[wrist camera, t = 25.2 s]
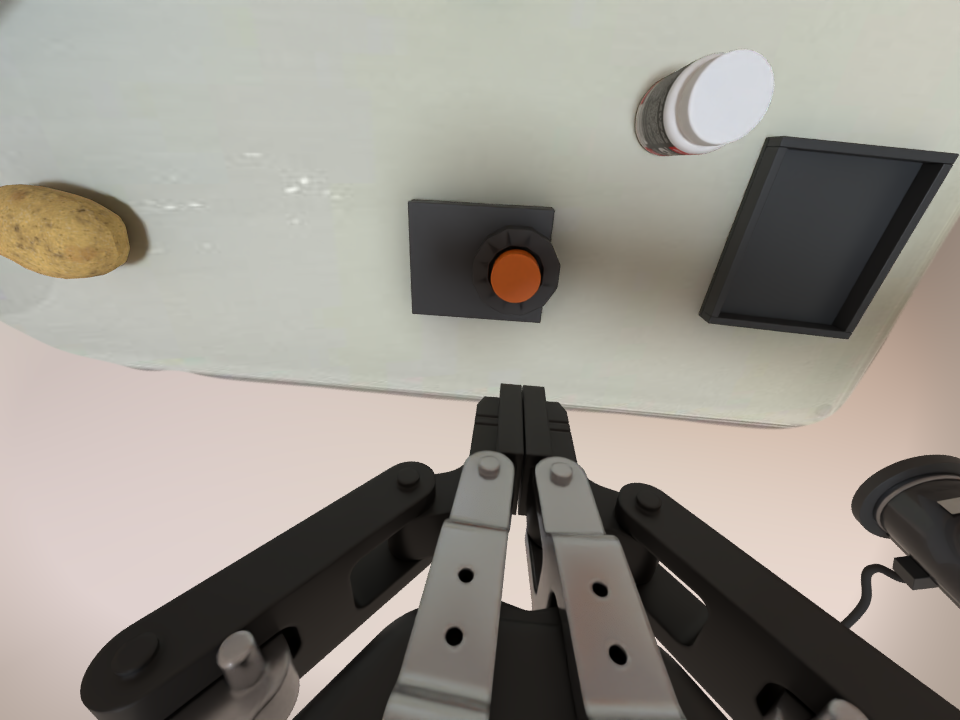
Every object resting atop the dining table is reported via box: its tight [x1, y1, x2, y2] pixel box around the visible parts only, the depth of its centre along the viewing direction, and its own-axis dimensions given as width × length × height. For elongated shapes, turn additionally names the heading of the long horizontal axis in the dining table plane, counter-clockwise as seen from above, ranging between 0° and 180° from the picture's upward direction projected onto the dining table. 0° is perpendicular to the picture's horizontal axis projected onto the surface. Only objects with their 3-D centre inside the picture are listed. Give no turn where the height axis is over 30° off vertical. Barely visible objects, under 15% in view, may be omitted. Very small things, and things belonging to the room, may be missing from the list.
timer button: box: [491, 249, 541, 303], centre depth 28 cm, size 4×4×2 cm
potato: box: [0, 184, 130, 279], centre depth 31 cm, size 7×11×6 cm, turn 76°
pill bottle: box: [636, 49, 774, 156], centre depth 23 cm, size 5×5×8 cm
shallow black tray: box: [699, 136, 959, 339], centre depth 29 cm, size 13×11×2 cm
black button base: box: [408, 199, 560, 323], centre depth 31 cm, size 12×9×4 cm
